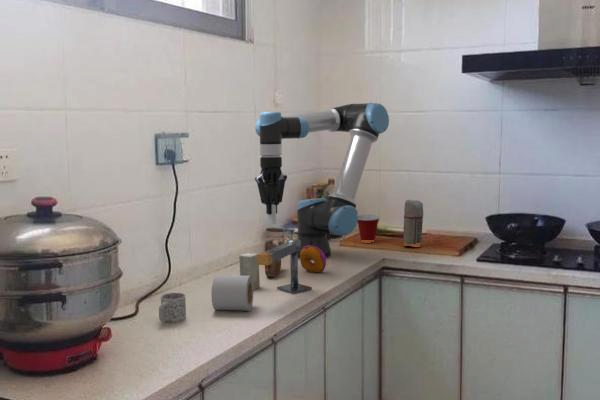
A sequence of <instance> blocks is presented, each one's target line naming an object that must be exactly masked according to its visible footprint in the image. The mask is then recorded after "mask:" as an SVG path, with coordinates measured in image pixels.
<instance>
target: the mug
mask: <svg viewBox="0 0 600 400" xmlns="http://www.w3.org/2000/svg"><path fill="white" fill-rule="evenodd" d="M158 319H159V322H161V323H166V324H175V323H180V322H184V321H185V320H187V307H186V294H185V293H182V292H168V293H164V294H162V295H161V296H160V305H159V307H158Z"/></svg>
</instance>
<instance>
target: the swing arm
mask: <svg viewBox="0 0 600 400" xmlns="http://www.w3.org/2000/svg"><path fill="white" fill-rule="evenodd" d="M300 250H301V240H299V239H297V238H291V239H287V240H286V242H284V243H281V244H280V245H278V246H274V247H273V248H270V249H267V250H265V251H262V252H259V253H256V254H257V264H258V265H259V266H260V265H262V266H265V265H270V264H272V263H273V262H275V261H277V260H279V259H281V260H282V259H284V258H285V257H288V256H290V254H292V253H294V252H296V251H300Z"/></svg>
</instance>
